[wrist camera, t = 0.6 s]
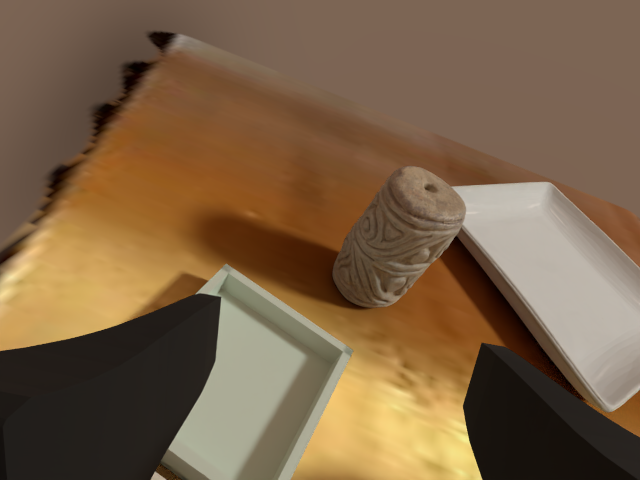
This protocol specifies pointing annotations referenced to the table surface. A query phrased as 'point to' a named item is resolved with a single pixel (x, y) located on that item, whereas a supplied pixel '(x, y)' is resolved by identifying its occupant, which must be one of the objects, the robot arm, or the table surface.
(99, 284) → the table surface
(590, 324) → the square plate
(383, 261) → the carving
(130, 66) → the table surface
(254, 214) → the table surface
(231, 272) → the tray
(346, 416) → the table surface
